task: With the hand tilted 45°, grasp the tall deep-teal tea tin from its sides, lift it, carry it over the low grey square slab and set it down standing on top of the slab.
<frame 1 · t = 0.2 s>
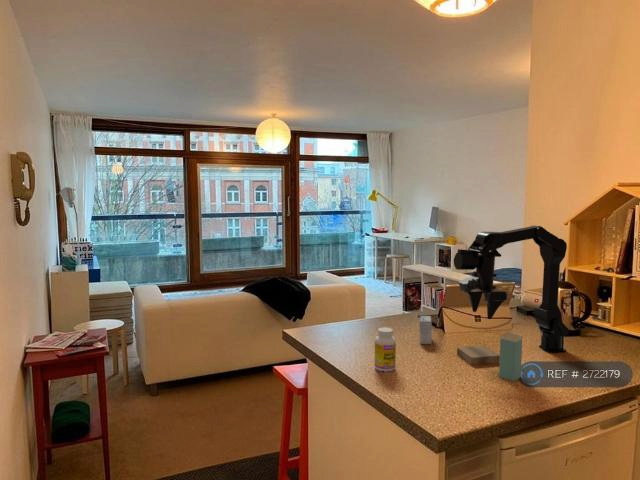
hand: (481, 315, 158), 14 cm above the kitchen counter, tool pointing down, fingers open, 9 cm apart
tea tin: (510, 377, 142), on the kitchen counter
supplement bottle: (385, 369, 150), on the kitchen counter
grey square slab: (477, 360, 158), on the kitchen counter
medicine box: (425, 341, 176), on the kitchen counter
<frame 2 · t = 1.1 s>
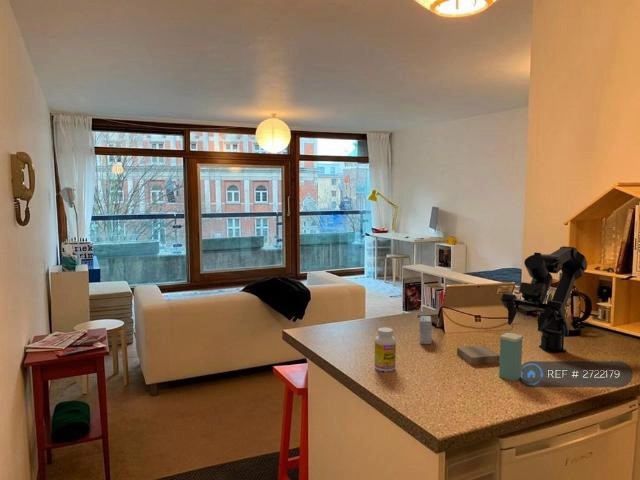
hand: (523, 327, 147), 14 cm above the kitchen counter, tool tilted 45°, fingers open, 9 cm apart
nothing on the kitchen counter moved.
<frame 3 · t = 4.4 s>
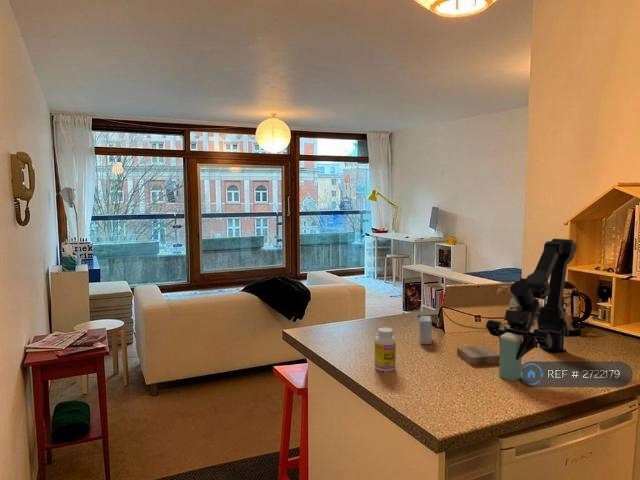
hand: (508, 357, 140), 7 cm above the kitchen counter, tool tilted 45°, fingers closed on tea tin, 5 cm apart
tea tin: (510, 377, 142), on the kitchen counter, touching gripper
everything else where it was.
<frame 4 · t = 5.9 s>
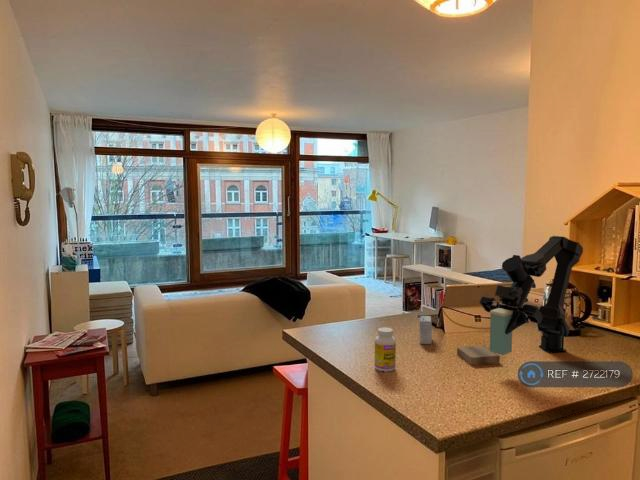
hand: (498, 331, 143), 13 cm above the kitchen counter, tool tilted 45°, fingers closed on tea tin, 5 cm apart
tea tin: (500, 351, 145), point 7 cm above the kitchen counter, touching gripper
everything else where it was.
when the fingers open (10 cm above the kitchen counter, at t = 7.6 s): tea tin drops 1 cm, resting on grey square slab.
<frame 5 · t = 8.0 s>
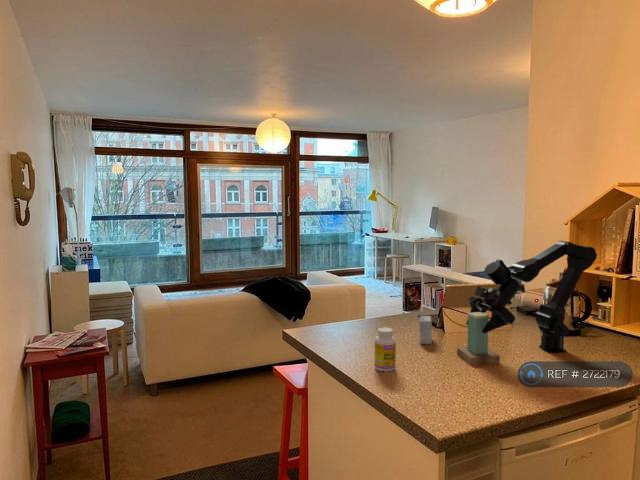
hand: (474, 328, 156), 11 cm above the kitchen counter, tool tilted 45°, fingers open, 9 cm apart
tea tin: (477, 351, 157), point 2 cm above the kitchen counter, touching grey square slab
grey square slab: (477, 360, 158), on the kitchen counter, touching tea tin
everything else where it was.
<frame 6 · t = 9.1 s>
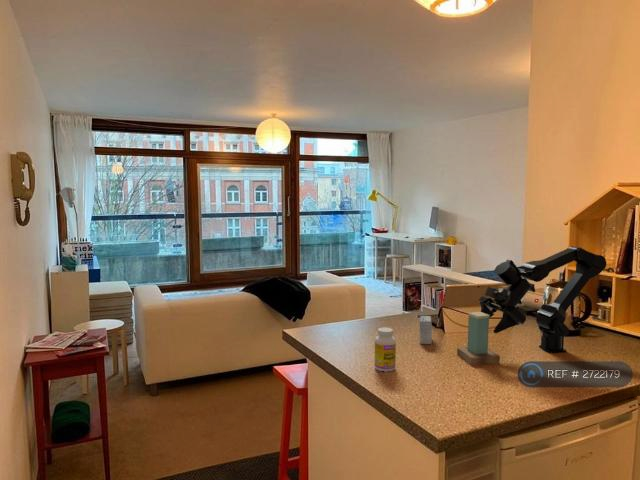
hand: (485, 328, 157), 10 cm above the kitchen counter, tool tilted 45°, fingers open, 9 cm apart
nothing on the kitchen counter moved.
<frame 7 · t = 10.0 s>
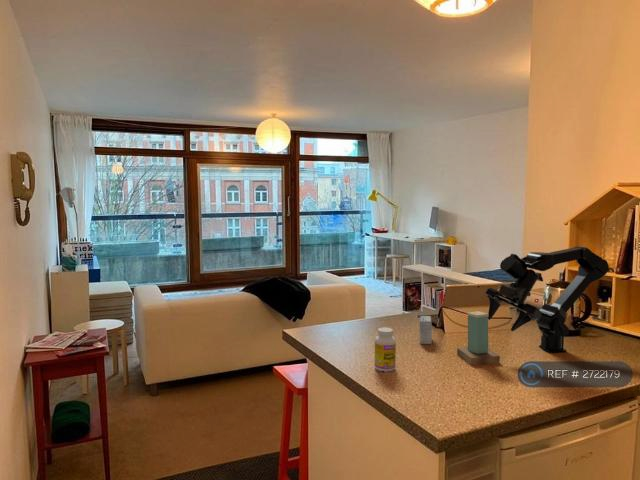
hand: (499, 325, 158), 11 cm above the kitchen counter, tool tilted 35°, fingers open, 9 cm apart
tea tin: (477, 351, 157), point 3 cm above the kitchen counter
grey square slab: (477, 360, 158), on the kitchen counter
everything else where it was.
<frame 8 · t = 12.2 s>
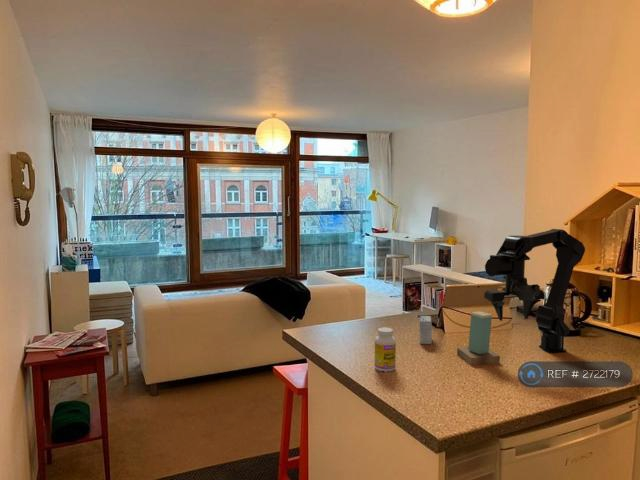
hand: (513, 319, 157), 13 cm above the kitchen counter, tool pointing down, fingers open, 9 cm apart
tea tin: (478, 351, 157), point 3 cm above the kitchen counter, touching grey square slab
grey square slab: (477, 360, 158), on the kitchen counter, touching tea tin
everything else where it was.
at the end: tea tin inside the target area on the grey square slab (0.1 cm from its centre), point 3.1 cm above the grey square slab's base; tea tin tilted 2°; the gripper is holding nothing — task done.
